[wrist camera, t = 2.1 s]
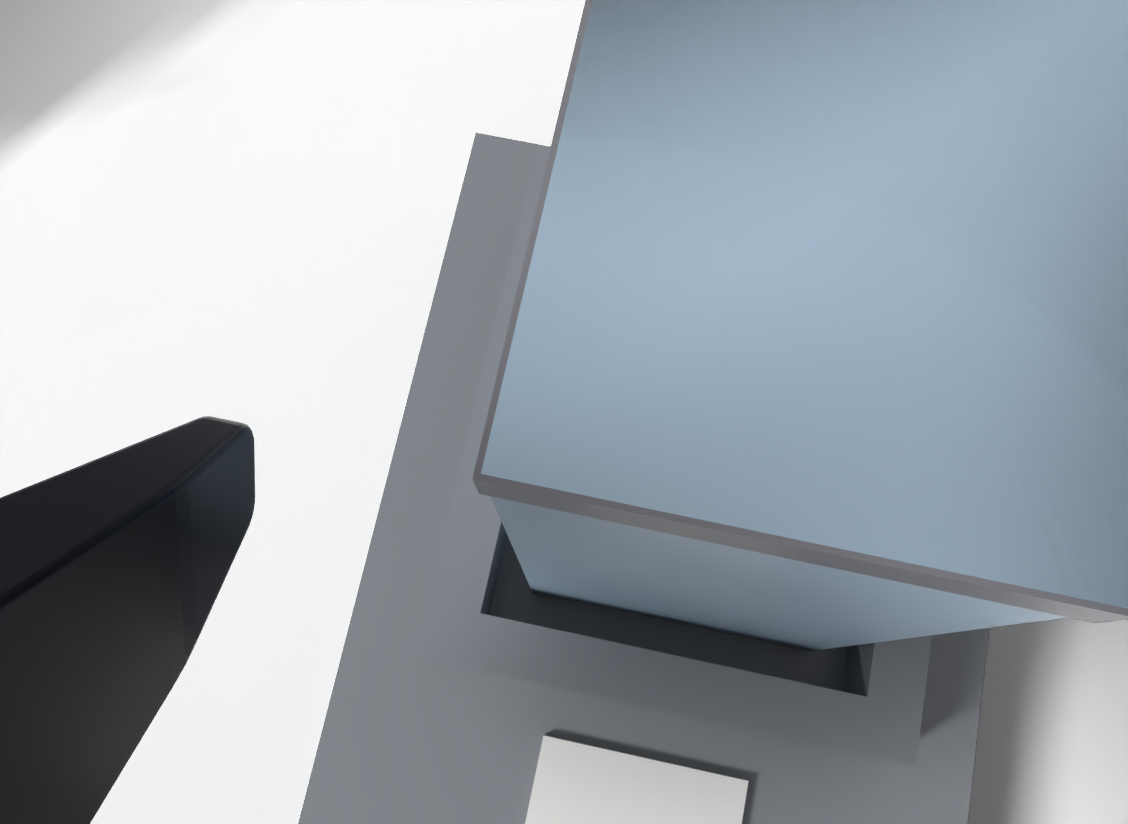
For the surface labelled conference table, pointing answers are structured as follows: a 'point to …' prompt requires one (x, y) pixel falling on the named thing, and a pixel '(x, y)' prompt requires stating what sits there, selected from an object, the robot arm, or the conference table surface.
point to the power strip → (592, 641)
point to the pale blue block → (827, 320)
